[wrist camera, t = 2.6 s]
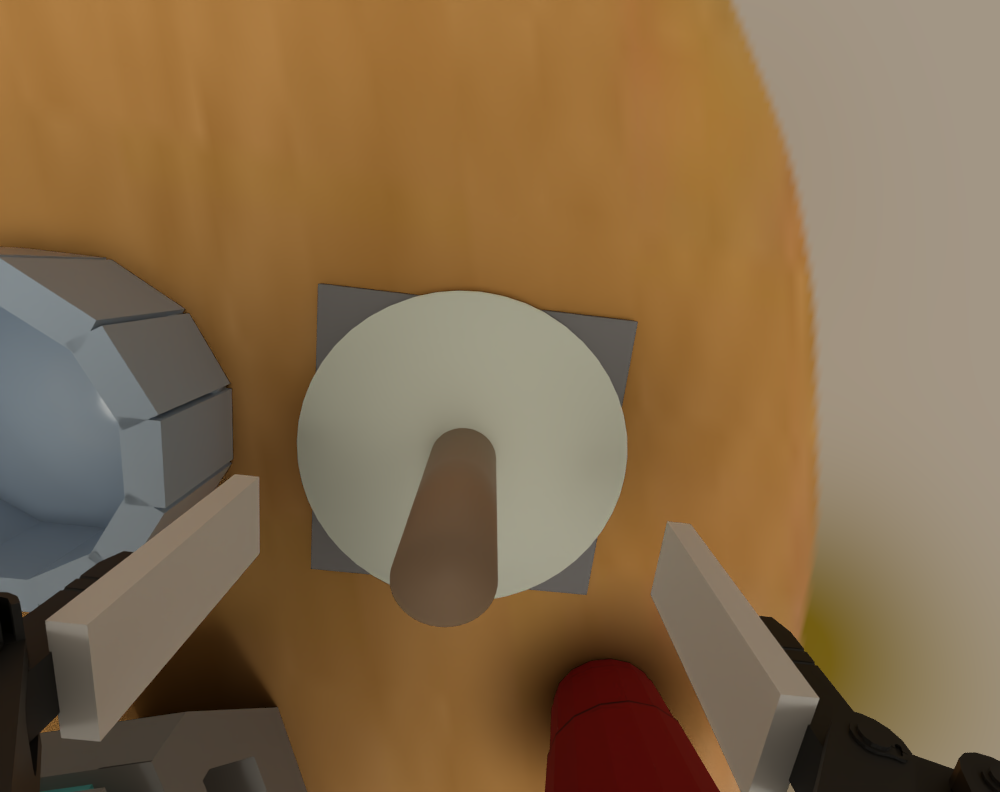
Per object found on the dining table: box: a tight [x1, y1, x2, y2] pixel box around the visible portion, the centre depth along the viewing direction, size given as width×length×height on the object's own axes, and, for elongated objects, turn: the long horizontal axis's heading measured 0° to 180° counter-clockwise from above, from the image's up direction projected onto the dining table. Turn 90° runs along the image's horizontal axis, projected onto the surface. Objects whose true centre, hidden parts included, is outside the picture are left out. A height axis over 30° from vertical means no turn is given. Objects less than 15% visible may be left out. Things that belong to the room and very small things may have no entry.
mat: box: [311, 284, 638, 595], centre depth 23 cm, size 14×14×1 cm
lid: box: [297, 290, 627, 627], centre depth 18 cm, size 15×15×10 cm
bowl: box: [0, 247, 233, 612], centre depth 20 cm, size 14×14×5 cm
